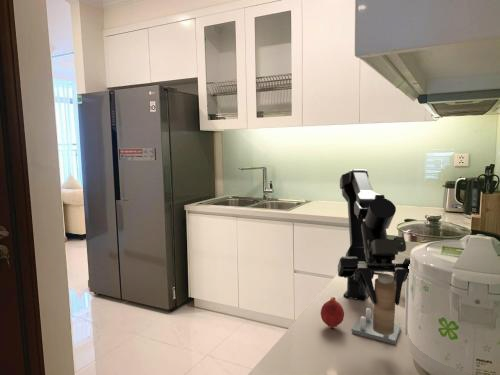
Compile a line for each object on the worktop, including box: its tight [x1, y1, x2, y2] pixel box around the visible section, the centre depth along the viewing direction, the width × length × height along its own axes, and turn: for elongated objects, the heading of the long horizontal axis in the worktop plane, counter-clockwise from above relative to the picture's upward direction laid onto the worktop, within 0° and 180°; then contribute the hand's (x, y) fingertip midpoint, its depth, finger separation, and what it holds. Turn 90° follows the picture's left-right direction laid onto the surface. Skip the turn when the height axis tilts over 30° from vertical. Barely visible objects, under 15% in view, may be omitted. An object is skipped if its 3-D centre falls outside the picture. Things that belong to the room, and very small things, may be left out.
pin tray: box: [351, 307, 402, 345], centre depth 88 cm, size 8×10×4 cm
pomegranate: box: [320, 296, 345, 329], centre depth 90 cm, size 6×6×8 cm
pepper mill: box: [372, 273, 396, 335], centre depth 79 cm, size 4×4×12 cm
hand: (386, 304), depth 78 cm, fingers closed on pepper mill, 4 cm apart
